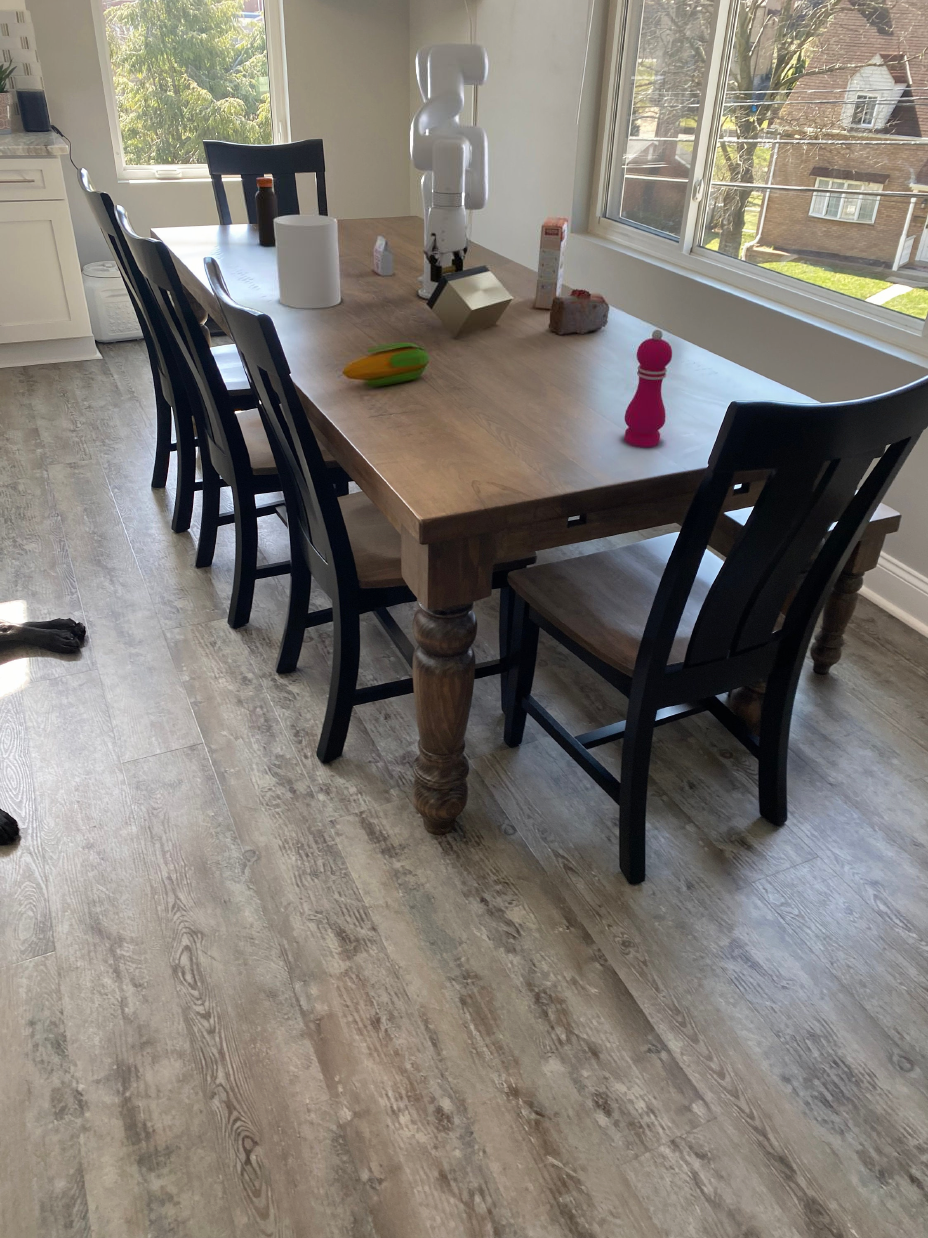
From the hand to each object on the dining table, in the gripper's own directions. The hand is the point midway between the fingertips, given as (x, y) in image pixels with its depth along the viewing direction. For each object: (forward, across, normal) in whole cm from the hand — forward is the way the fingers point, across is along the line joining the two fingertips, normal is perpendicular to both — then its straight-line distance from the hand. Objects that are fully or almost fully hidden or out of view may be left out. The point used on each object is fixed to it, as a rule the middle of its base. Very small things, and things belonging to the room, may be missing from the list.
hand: (446, 278), depth 217 cm
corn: (+11, +42, +20) cm, 48 cm away
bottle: (+12, -31, -104) cm, 110 cm away
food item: (+11, -20, +26) cm, 35 cm away
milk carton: (+11, -29, -50) cm, 59 cm away
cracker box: (+11, -36, +6) cm, 38 cm away
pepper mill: (+11, +33, +76) cm, 83 cm away
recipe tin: (+6, 0, +3) cm, 7 cm away
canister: (+11, +9, -40) cm, 43 cm away
